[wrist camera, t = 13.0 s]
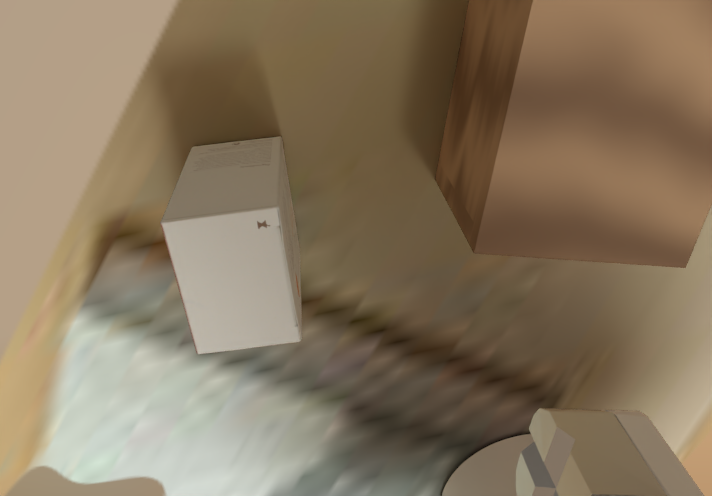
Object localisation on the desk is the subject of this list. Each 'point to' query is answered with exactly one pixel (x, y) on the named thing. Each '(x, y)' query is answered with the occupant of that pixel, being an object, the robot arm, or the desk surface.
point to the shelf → (582, 129)
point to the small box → (236, 246)
